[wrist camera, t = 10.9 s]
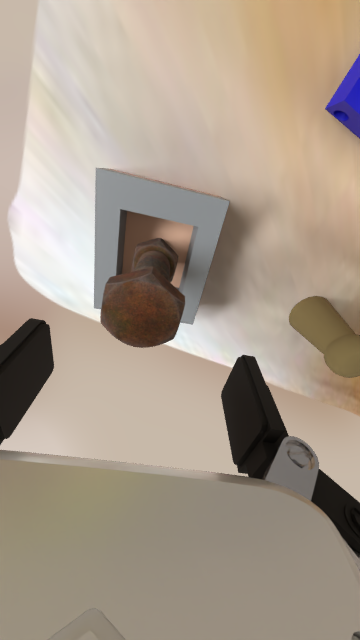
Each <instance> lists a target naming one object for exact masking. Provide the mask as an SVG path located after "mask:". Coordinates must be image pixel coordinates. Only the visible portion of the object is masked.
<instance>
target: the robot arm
mask: <svg viewBox="0 0 360 640" xmlns="http://www.w3.org/2000/svg"><path fill="white" fill-rule="evenodd" d="M53 368H54V362H53V353H52V345H51V336H50V327H49V325H48V324H46V322H45V321H44V320H38V319H32V318H31V319H29V320H28V321H27V322H25V323H24V324H23V325H22V326H21V327H20V328H19V329H18V330H17V331H16V332H15V333H14V334H13V335H12V336H11V337H10V338H8V339H7V341H5V342H4V343H3V344H1V345H0V444H1V443H2V441H3V440H4V439H7V438H9V437H10V436H11V434H12V433H13V431H14V430H15V428H16V427H17V425H18V424H19V422H20V421H21V419H22V417H23V416H24V415H25V413H26V411H27V410H28V408H29V407H30V405H31V404H32V402H33V401H34V399H35V398H36V396H37V394H38V393H39V391H40V390H41V389H42V387H43V385H44V384H45V382H46V381H47V379H48V378H49V376H50V375H51V373H52V371H53ZM221 398H222V404H223V409H224V414H225V420H226V425H227V431H228V436H229V441H230V446H231V452H232V458H233V462H234V464H235V465H237V468H238V472H239V473H246V474H248V476H249V477H245V476H237V475H229V474H222V473H215V472H206V471H197V470H188V469H179V468H171V467H162V466H153V465H144V464H134V463H125V462H116V461H107V460H97V459H88V458H78V457H68V456H58V455H49V454H39V453H30V452H18V451H6V450H0V640H360V503H359V502H358V501H357V500H356V499H354V498H353V497H352V496H351V495H350V494H349V493H347V492H346V491H345V490H344V489H343V488H341V487H340V486H339V485H338V484H337V483H335V482H334V481H333V480H332V479H331V478H329V477H328V476H327V475H326V474H325V473H324V472H322V471H321V470H320V469H319V462H318V458H317V456H316V454H315V452H314V451H313V450H312V448H311V447H310V446H309V445H308V444H307V443H305V442H304V441H303V440H301V439H299V438H297V437H294V436H289V435H288V433H287V431H286V428H285V426H284V423H283V421H282V419H281V416H280V414H279V411H278V409H277V407H276V404H275V402H274V400H273V397H272V395H271V392H270V390H269V388H268V386H267V385H266V383H265V381H264V378H263V376H262V373H261V371H260V369H259V366H258V364H257V361H256V359H255V357H253V356H247V355H242V356H241V357H238V359H237V361H236V363H235V365H234V367H233V369H232V371H231V373H230V375H229V377H228V379H227V382H226V384H225V386H224V388H223V390H222V394H221Z"/></svg>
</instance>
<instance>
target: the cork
mask: <svg viewBox="0 0 360 640" xmlns="http://www.w3.org/2000/svg"><path fill="white" fill-rule="evenodd" d="M289 322H290V325H291V326H292V327H293V328H294V329H295V330H297V331H298V332H299V333H300V334H301V335H302V336H303V337H305V338H306V339H307V340H308V341H309V342H310V343H311V344H312V345H314V346H315V347H316V348H317V349H318V350H319V351H320V352H322V353H323V354H324V359H325V362H326V364H327V366H328V367H329V368H330V369H331V370H332V371H333V372H334V373H335V374H338V375H340V376H343V377H348V378H351V377H357V376H360V335H356V334H355V333H354V332H353V331H352V329H351V328H350V327H349V326H348V325H347V323H346V322H345V321H344V320H343V318H342V317H341V316H340V315H339V314H338V312H337V311H336V310H335V309H334V308H333V306H332V305H331V304H330V303H329V302H328V300H327V299H325V298H323V297H318V296H314V297H309V298H306V299H304V300H302V301H300V302H299V303H298V304H296V306H295V307H294V308H293V309H292V311H291V313H290V315H289Z"/></svg>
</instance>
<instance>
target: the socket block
mask: <svg viewBox="0 0 360 640" xmlns="http://www.w3.org/2000/svg"><path fill="white" fill-rule="evenodd" d="M229 202H230V201H228V200H226V199H224V198H222V197H219V196H215V195H211V194H207V193H204V192H200V191H196V190H192V189H188V188H184V187H180V186H176V185H172V184H168V183H164V182H160V181H156V180H152V179H148V178H144V177H140V176H136V175H132V174H128V173H124V172H120V171H116V170H112V169H105V168H96V195H95V275H94V308H97V309H101V306H102V299H103V293H104V289H105V284H106V282H107V281H108V279H109V278H110V277H112V276H116V275H120V274H124V273H128V272H132V271H131V270H132V262H133V257H134V252H135V248H136V246H137V244H139V243H142V242H145V241H149V240H151V239H156V238H162V239H163V240H164V241H165V242H166V243H167V244H168V245H169V246H170V247H171V248H172V249H173V250H174V251H175V252H176V254H177V255H178V263H177V267H176V270H175V274H174V277H173V280H172V282H170V283H171V284H172V285H173V286H174V287H176V288H177V289H178V290H179V291H180V292H181V293H182V294H183V295H184V296H185V307H184V311H183V315H182V318H181V321H180V322H181V323H187V324H193V322H194V319H195V315H196V312H197V309H198V305H199V302H200V299H201V295H202V292H203V289H204V285H205V282H206V279H207V275H208V272H209V269H210V265H211V262H212V259H213V255H214V252H215V249H216V245H217V242H218V239H219V235H220V232H221V229H222V225H223V222H224V219H225V215H226V212H227V209H228V205H229Z"/></svg>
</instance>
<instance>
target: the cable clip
mask: <svg viewBox="0 0 360 640" xmlns="http://www.w3.org/2000/svg"><path fill="white" fill-rule="evenodd" d="M325 109H326V110H327V111H328V112H329V113H331V114H332V115H333V116H334V117H335V118H336V119H338V120H339V121H340V122H341V123H342V124H343V125H345V126H346V127H347V128H348V129H349V130H350V131H352V132H353V133H354V134H355V135H356V136H357V137H359V138H360V54H359V56H358V58H357V59H356V61H355V62H354V64H353V65H352V67H351V69H350V70H349V72H348V73H347V75H346V77H345V78H344V80H343V81H342V83H341V84H340V86H339V88H338V89H337V91H336V92H335V94H334V96H333V97H332V99H331V100H330V102H329V103H328V105H327V107H326V108H325Z"/></svg>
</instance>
